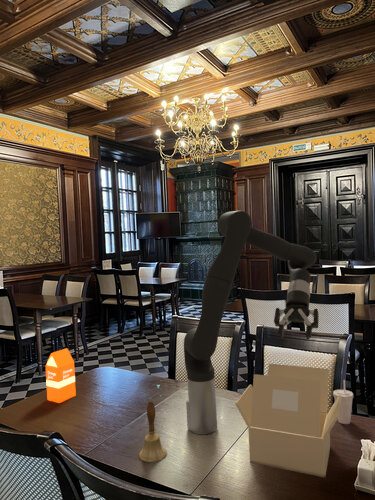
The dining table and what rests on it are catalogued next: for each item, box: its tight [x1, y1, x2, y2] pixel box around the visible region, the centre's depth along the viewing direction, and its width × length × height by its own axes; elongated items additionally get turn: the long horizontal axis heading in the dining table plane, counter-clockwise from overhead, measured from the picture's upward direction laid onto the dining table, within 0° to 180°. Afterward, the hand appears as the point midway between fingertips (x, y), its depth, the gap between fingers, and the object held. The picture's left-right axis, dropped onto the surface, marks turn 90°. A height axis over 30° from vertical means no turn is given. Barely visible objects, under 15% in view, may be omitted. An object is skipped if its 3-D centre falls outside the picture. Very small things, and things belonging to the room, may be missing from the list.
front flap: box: [250, 374, 320, 438], centre depth 105 cm, size 18×14×1 cm
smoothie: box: [332, 379, 354, 425], centre depth 128 cm, size 6×6×14 cm
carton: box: [234, 363, 342, 478], centre depth 115 cm, size 28×26×20 cm
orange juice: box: [45, 347, 77, 404], centre depth 161 cm, size 8×9×20 cm
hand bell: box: [138, 400, 168, 463], centre depth 113 cm, size 8×8×16 cm
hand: (294, 337), depth 122 cm, fingers open, 7 cm apart
